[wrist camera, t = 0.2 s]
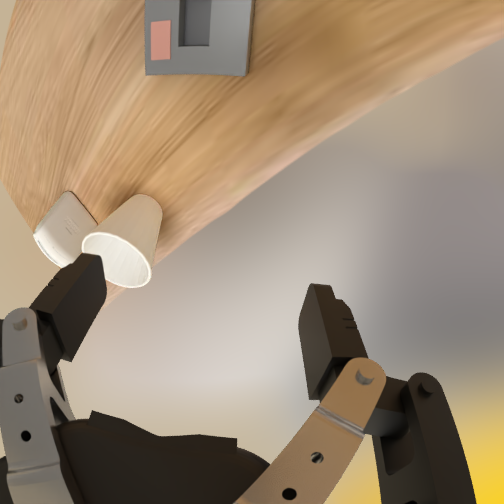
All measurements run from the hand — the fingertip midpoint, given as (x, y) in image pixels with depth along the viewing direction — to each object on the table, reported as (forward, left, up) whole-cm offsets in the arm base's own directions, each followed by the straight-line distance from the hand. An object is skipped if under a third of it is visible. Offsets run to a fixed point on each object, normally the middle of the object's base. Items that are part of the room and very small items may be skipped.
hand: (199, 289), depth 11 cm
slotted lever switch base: (-16, 0, -30) cm, 34 cm away
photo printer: (+4, -41, -30) cm, 51 cm away
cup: (+10, -27, -30) cm, 42 cm away
